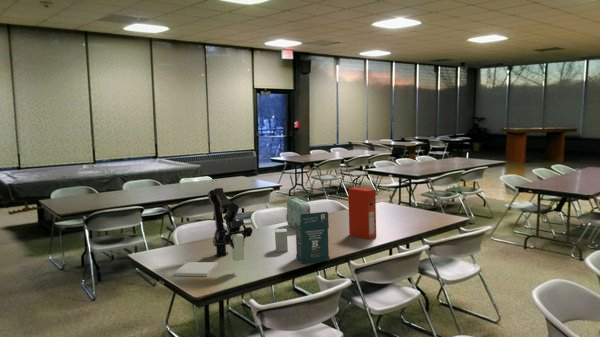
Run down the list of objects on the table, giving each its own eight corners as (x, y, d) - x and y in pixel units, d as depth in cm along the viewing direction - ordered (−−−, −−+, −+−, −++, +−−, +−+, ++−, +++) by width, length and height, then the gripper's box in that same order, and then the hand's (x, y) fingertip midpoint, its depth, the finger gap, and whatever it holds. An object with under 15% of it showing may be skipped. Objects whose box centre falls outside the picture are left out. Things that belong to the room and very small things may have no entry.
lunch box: (284, 224, 342) (283, 197, 339) (297, 223, 346) (296, 195, 344) (299, 232, 318) (298, 202, 315) (312, 230, 322) (311, 200, 320)
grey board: (187, 264, 253) (186, 262, 253) (217, 265, 251) (217, 262, 251) (173, 275, 236) (173, 273, 235) (206, 276, 233) (206, 273, 233)
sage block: (232, 258, 239) (231, 234, 238) (241, 257, 241) (240, 233, 240) (234, 261, 235) (234, 236, 233) (244, 259, 237) (243, 235, 236)
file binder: (368, 239, 293) (367, 191, 289) (349, 234, 306) (348, 188, 302) (376, 237, 298) (375, 189, 294) (357, 232, 311) (356, 187, 307)
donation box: (302, 264, 248) (300, 214, 245) (294, 256, 263) (292, 208, 260) (329, 260, 252) (328, 211, 249) (320, 252, 267) (318, 206, 264)
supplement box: (287, 248, 279) (287, 228, 277) (287, 251, 272) (287, 231, 270) (275, 248, 279) (275, 228, 277) (275, 252, 271) (274, 231, 270)
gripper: (216, 216, 235) (223, 242, 227) (250, 212, 243) (258, 236, 234) (213, 228, 243) (220, 253, 235) (246, 223, 251) (254, 247, 242)
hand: (238, 247), depth 236 cm, fingers closed on sage block, 5 cm apart
